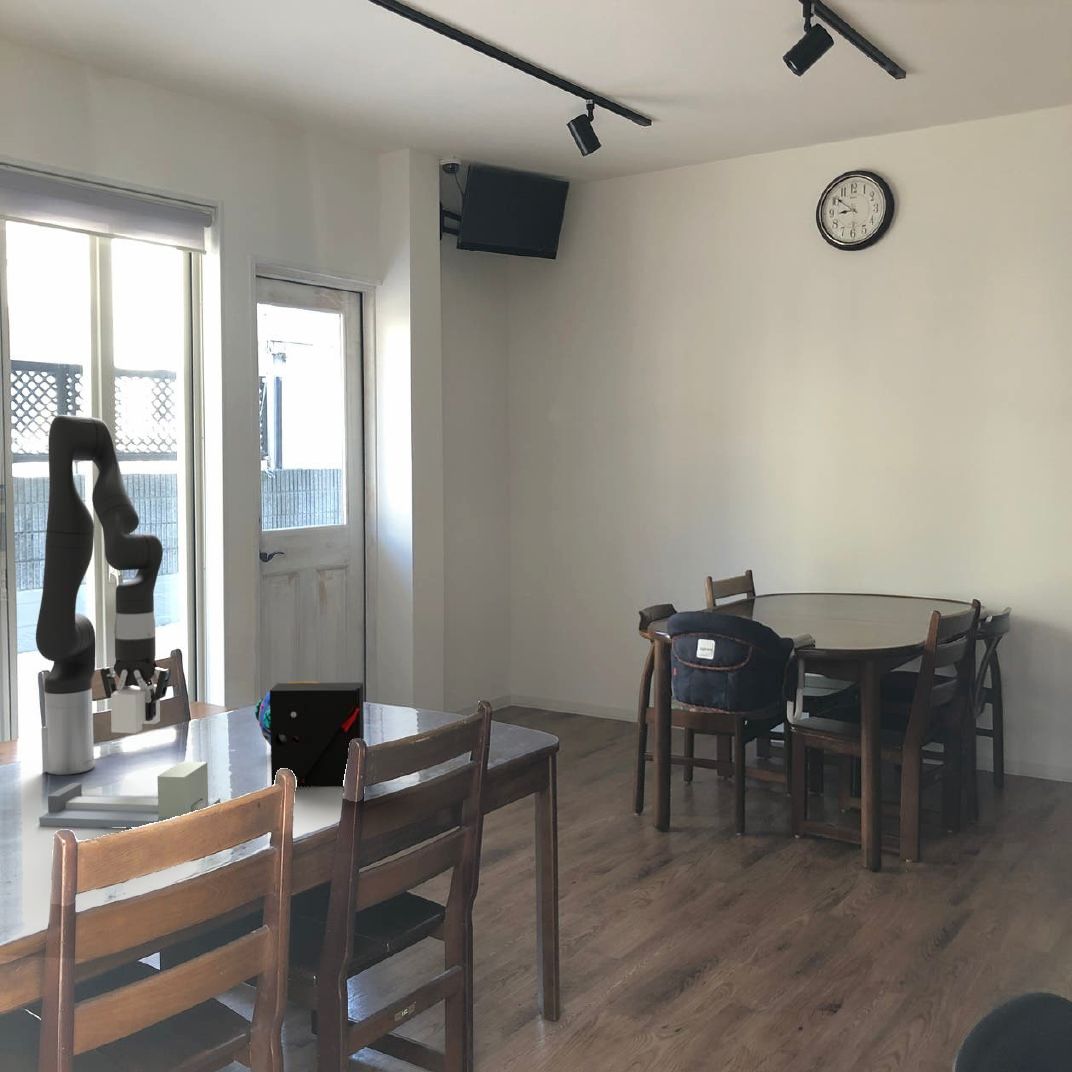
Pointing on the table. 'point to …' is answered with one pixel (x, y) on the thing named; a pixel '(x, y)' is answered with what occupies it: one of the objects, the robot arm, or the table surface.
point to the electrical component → (314, 730)
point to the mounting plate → (132, 801)
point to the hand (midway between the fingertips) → (136, 719)
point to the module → (130, 710)
